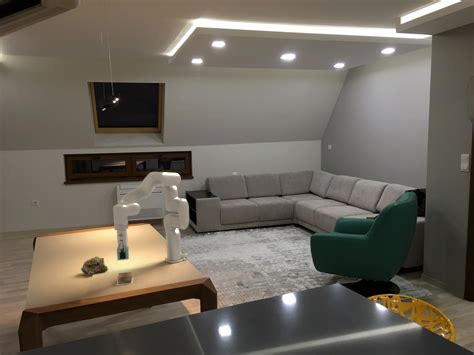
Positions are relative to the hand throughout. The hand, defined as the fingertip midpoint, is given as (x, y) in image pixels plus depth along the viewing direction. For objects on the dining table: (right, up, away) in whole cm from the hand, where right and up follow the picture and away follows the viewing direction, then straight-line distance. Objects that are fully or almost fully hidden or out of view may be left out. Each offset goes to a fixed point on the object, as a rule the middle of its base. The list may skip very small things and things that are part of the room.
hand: (123, 256), depth 226 cm
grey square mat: (+1, -16, +2) cm, 16 cm away
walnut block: (+1, -14, +2) cm, 15 cm away
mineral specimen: (-24, -15, +20) cm, 35 cm away
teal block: (0, -1, 0) cm, 1 cm away
